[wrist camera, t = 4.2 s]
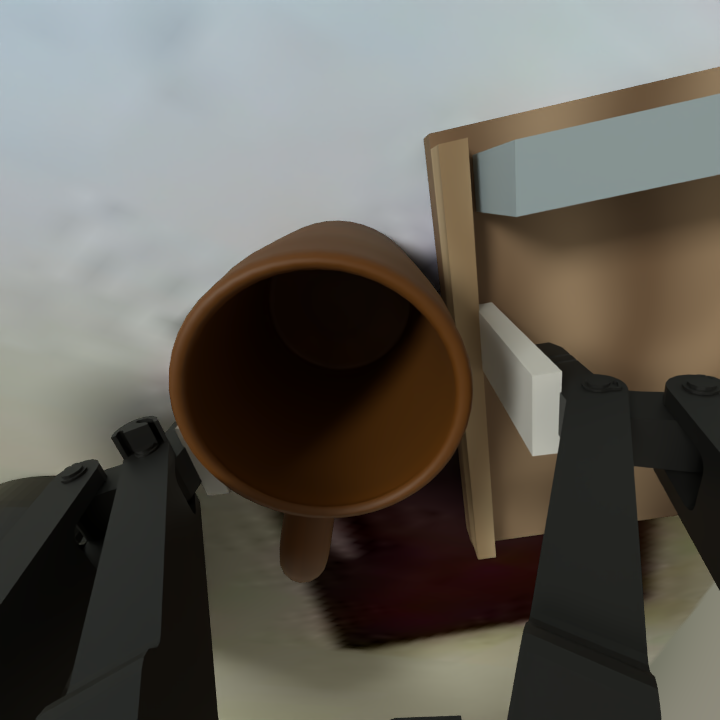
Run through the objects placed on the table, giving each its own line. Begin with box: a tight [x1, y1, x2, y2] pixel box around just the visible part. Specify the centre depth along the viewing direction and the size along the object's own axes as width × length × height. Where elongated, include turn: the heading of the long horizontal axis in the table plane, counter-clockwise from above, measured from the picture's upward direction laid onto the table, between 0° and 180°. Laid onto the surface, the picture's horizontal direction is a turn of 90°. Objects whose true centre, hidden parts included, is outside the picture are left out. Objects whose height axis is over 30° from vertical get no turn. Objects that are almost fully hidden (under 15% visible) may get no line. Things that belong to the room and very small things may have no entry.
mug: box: [169, 221, 473, 583], centre depth 14 cm, size 12×8×9 cm, turn 171°
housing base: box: [424, 67, 720, 559], centre depth 17 cm, size 15×22×3 cm
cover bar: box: [473, 94, 720, 217], centre depth 12 cm, size 12×2×4 cm, turn 101°
